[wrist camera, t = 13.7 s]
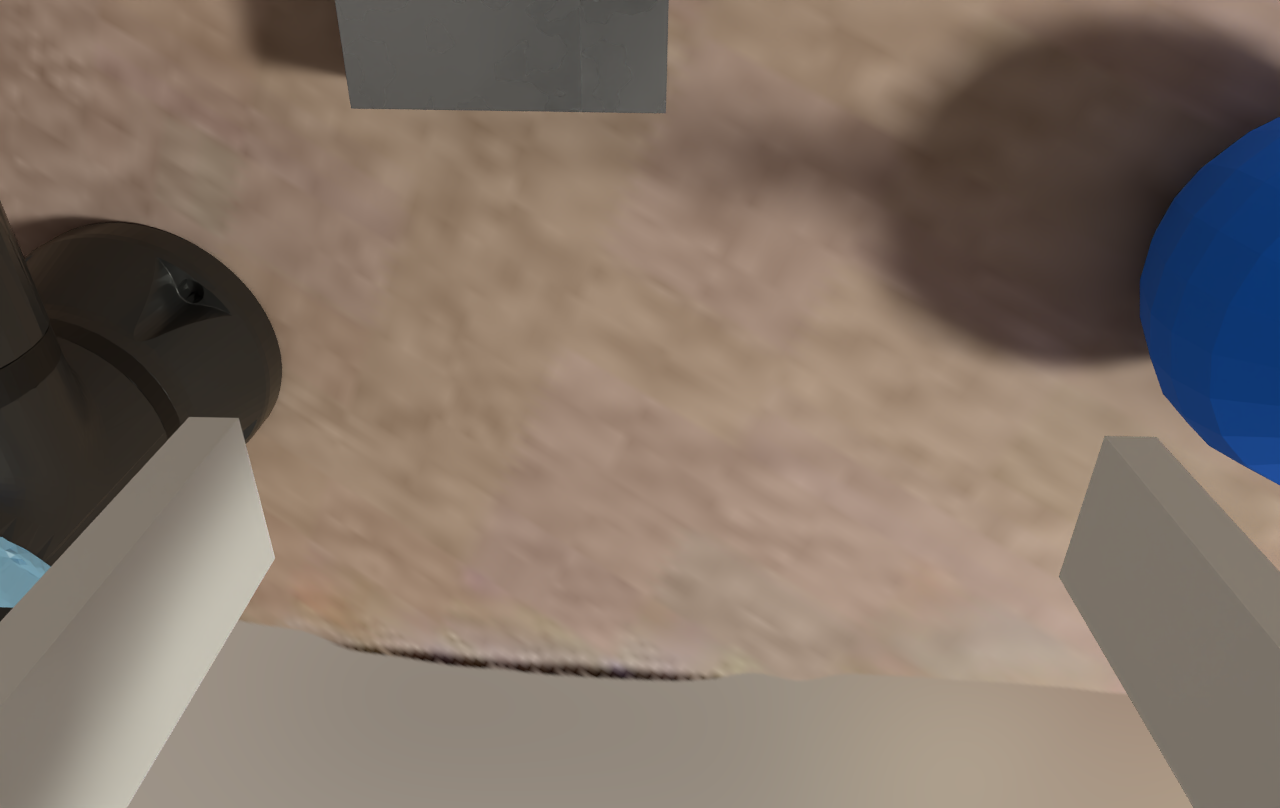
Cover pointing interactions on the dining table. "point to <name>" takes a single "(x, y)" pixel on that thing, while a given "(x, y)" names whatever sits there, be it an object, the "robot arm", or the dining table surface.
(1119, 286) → the dining table surface
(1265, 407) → the vase
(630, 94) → the housing
